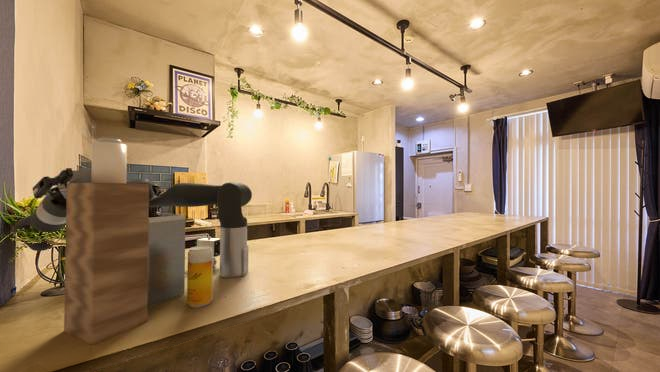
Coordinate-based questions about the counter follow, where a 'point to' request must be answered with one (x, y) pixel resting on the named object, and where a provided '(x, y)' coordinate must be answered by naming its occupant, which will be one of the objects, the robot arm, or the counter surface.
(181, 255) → the tall grey upright block
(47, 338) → the counter surface
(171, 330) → the counter surface
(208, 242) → the pneumatic valve
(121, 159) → the white plastic container
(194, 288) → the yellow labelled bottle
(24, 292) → the counter surface
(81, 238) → the tall wooden block
